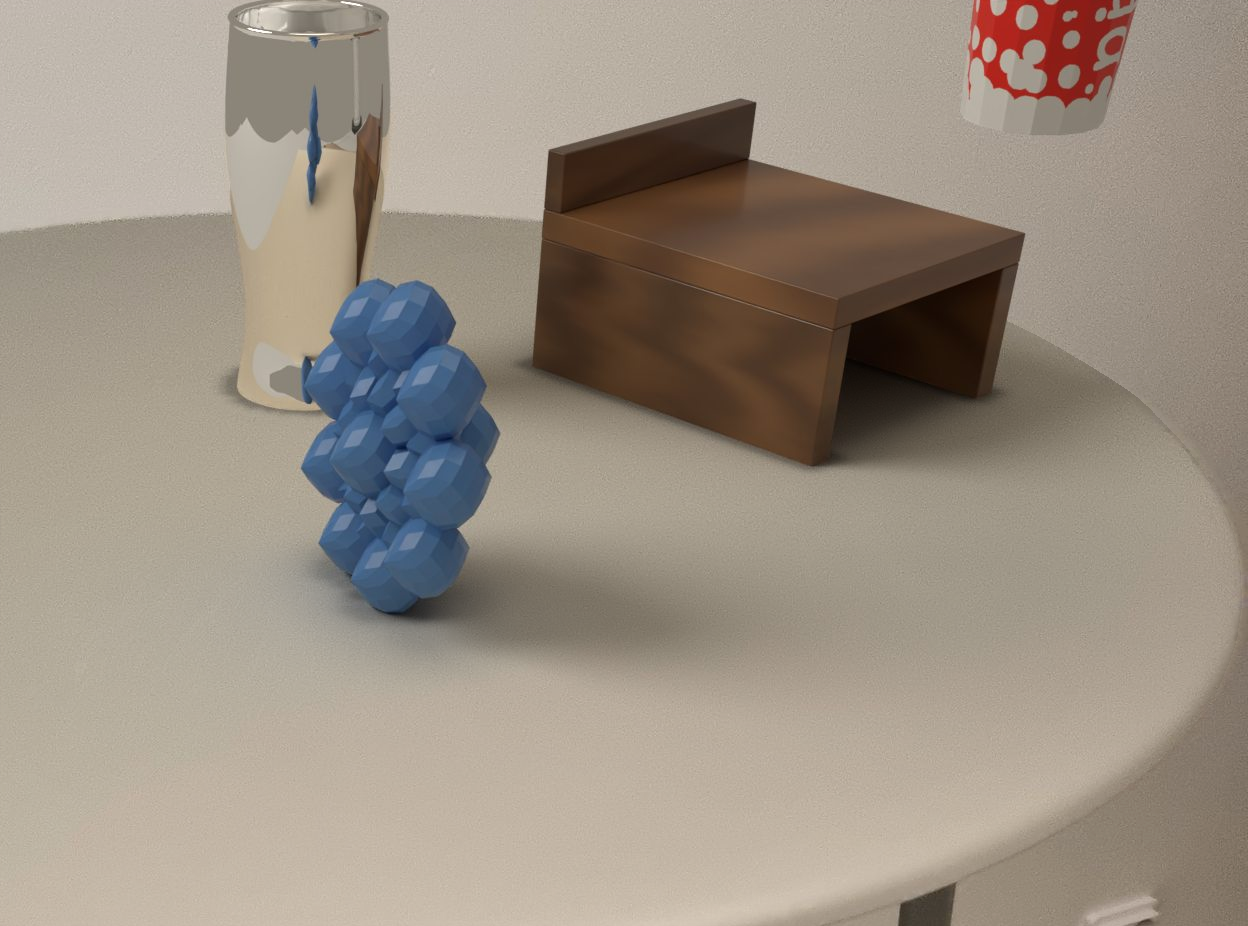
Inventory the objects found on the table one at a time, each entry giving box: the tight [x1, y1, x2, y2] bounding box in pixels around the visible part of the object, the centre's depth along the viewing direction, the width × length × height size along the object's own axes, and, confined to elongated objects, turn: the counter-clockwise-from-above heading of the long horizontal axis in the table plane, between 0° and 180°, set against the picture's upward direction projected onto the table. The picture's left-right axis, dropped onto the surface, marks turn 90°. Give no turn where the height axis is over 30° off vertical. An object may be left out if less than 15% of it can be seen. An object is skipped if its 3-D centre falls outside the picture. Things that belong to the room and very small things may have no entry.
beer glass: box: [223, 0, 392, 412], centre depth 93 cm, size 7×7×15 cm
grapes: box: [300, 277, 501, 614], centre depth 77 cm, size 12×7×12 cm, turn 23°
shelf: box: [531, 97, 1026, 467], centre depth 96 cm, size 16×13×9 cm
